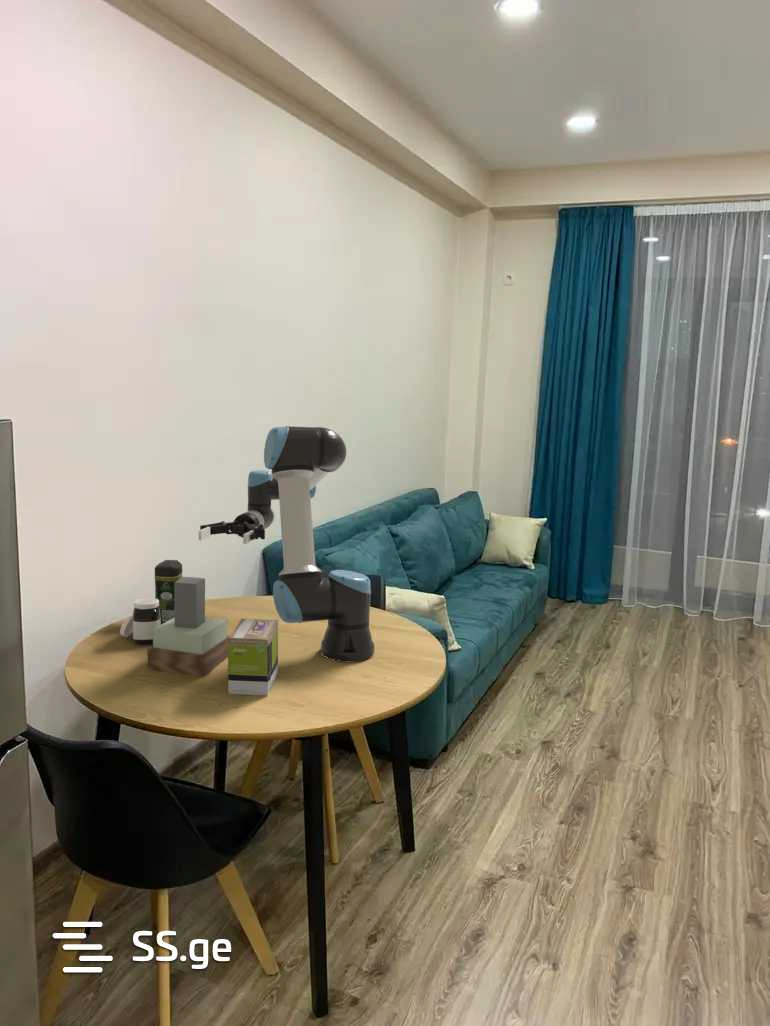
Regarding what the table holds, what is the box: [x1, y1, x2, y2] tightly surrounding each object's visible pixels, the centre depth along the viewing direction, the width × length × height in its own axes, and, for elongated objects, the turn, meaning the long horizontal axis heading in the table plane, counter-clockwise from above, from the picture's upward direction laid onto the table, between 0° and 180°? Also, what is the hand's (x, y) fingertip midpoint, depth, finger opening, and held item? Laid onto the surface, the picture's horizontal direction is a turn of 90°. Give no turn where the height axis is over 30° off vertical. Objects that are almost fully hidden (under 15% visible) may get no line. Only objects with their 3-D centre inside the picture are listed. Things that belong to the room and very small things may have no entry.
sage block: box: [152, 616, 228, 655], centre depth 201 cm, size 14×14×5 cm
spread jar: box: [119, 597, 162, 645], centre depth 217 cm, size 12×11×12 cm
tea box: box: [227, 618, 279, 696], centre depth 189 cm, size 15×10×15 cm
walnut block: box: [146, 635, 230, 678], centre depth 202 cm, size 16×16×6 cm
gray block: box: [174, 576, 206, 629], centre depth 200 cm, size 6×6×12 cm
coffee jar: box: [154, 559, 183, 624], centre depth 235 cm, size 10×8×19 cm
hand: (222, 537), depth 218 cm, fingers open, 13 cm apart
